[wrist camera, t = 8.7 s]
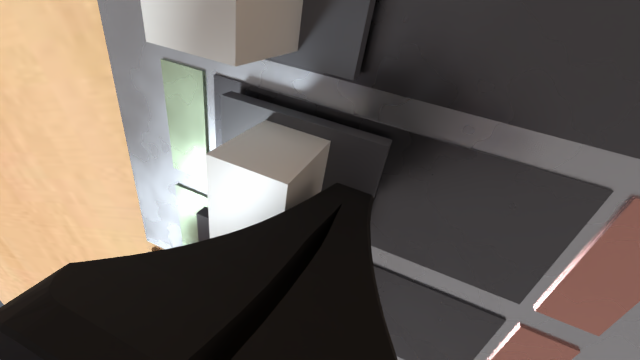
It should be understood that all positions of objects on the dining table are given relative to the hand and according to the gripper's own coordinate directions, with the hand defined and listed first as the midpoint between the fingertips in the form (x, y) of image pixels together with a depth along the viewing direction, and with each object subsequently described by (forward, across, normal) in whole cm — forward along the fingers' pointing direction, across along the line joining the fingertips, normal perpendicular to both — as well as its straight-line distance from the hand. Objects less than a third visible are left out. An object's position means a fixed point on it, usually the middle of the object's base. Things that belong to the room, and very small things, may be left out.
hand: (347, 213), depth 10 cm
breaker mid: (+2, +2, 0) cm, 3 cm away
